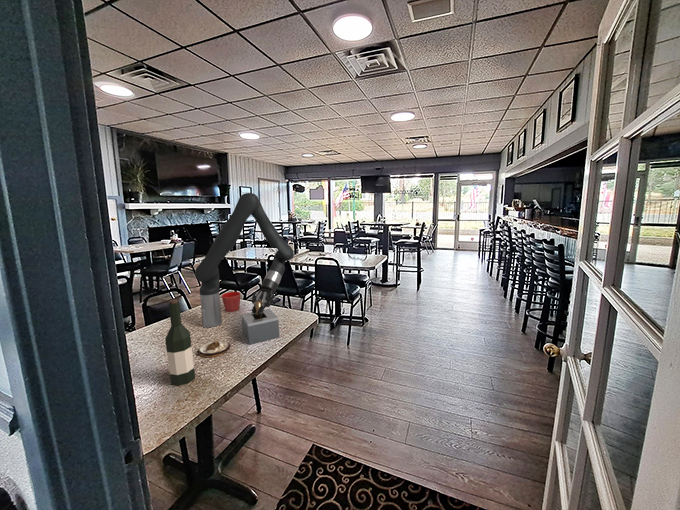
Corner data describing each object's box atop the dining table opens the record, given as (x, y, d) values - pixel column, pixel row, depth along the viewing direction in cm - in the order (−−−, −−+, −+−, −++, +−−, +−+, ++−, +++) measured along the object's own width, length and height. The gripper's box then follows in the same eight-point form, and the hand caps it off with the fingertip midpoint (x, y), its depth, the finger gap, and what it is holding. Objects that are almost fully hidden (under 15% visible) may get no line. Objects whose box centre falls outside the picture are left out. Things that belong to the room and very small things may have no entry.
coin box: (249, 345, 135) (247, 324, 133) (242, 333, 147) (240, 314, 145) (279, 337, 141) (278, 317, 140) (270, 327, 153) (269, 308, 152)
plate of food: (212, 363, 121) (211, 354, 120) (188, 355, 128) (187, 346, 127) (240, 347, 133) (239, 339, 133) (217, 341, 140) (216, 332, 140)
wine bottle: (176, 373, 113) (166, 297, 108) (199, 371, 114) (190, 296, 109) (166, 386, 105) (154, 305, 100) (190, 385, 106) (180, 303, 101)
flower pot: (219, 312, 176) (217, 296, 174) (229, 306, 186) (227, 291, 185) (236, 313, 174) (234, 297, 172) (244, 306, 185) (243, 291, 183)
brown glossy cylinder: (255, 321, 141) (254, 302, 140) (257, 318, 144) (256, 300, 143) (261, 321, 141) (260, 302, 140) (263, 318, 144) (262, 300, 143)
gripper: (256, 276, 149) (240, 307, 141) (278, 279, 143) (263, 312, 134) (264, 284, 155) (249, 314, 146) (286, 287, 148) (271, 319, 140)
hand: (256, 313), depth 140 cm, fingers closed on brown glossy cylinder, 3 cm apart
